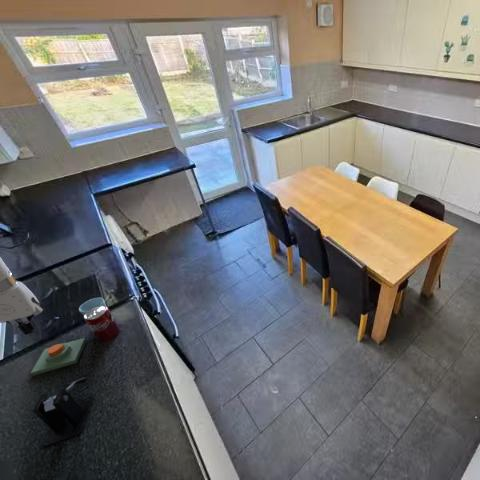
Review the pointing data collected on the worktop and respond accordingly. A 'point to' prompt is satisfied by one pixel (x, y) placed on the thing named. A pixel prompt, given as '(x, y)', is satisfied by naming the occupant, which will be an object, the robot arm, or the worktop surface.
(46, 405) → the toaster lever
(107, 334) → the soda can
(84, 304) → the cup
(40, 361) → the button block
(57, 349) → the button
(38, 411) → the toaster bracket
